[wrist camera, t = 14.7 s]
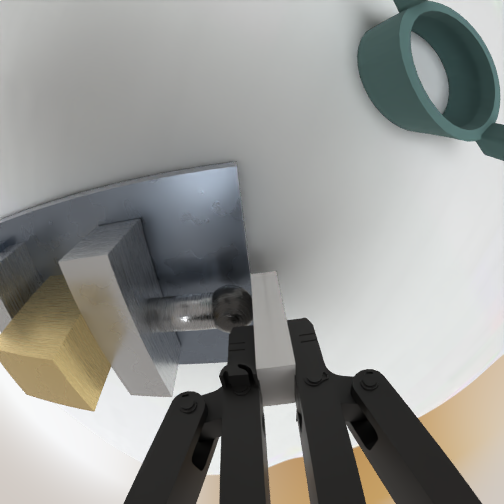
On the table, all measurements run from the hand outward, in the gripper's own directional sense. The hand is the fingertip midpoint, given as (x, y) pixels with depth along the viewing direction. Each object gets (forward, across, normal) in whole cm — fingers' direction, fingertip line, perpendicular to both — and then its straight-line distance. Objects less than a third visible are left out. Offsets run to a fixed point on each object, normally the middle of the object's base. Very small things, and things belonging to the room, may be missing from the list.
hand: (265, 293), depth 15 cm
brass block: (+1, -12, 0) cm, 13 cm away
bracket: (+4, +12, +13) cm, 18 cm away
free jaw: (+1, -5, 0) cm, 5 cm away
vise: (+3, -11, 0) cm, 12 cm away
